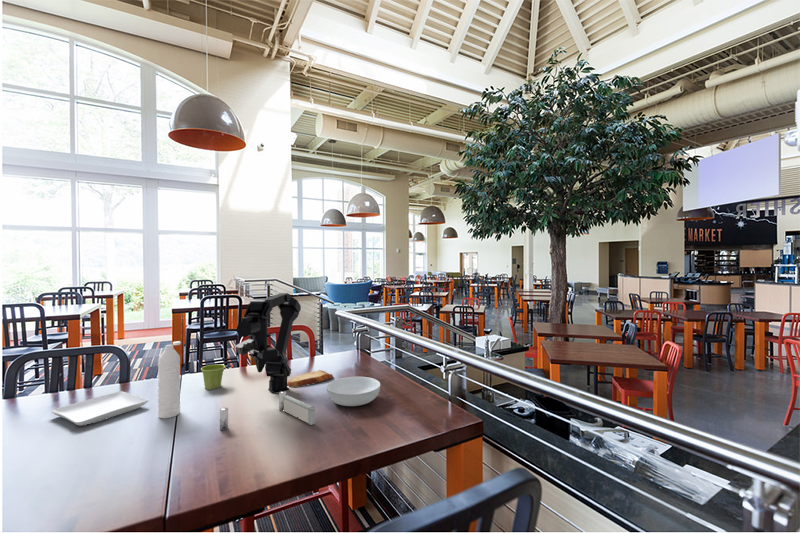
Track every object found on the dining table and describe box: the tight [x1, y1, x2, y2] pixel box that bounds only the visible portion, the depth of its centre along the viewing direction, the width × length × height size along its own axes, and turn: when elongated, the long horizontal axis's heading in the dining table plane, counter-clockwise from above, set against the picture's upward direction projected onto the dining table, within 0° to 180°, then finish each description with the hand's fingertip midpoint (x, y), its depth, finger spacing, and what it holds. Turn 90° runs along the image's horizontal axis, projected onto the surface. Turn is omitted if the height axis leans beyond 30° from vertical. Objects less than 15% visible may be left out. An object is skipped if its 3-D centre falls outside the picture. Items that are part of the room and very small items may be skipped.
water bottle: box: [157, 340, 182, 419], centre depth 125 cm, size 9×6×25 cm
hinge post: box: [278, 390, 287, 412], centre depth 128 cm, size 2×2×6 cm
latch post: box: [219, 406, 229, 431], centre depth 113 cm, size 2×2×6 cm
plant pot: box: [200, 363, 226, 390], centre depth 151 cm, size 9×9×9 cm
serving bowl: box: [326, 376, 381, 407], centre depth 136 cm, size 21×21×7 cm
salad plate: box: [51, 390, 149, 427], centre depth 125 cm, size 21×21×3 cm
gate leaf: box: [283, 394, 316, 426], centre depth 121 cm, size 17×2×5 cm, turn 50°
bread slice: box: [287, 370, 334, 388], centre depth 160 cm, size 18×18×4 cm
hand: (259, 372), depth 134 cm, fingers closed
